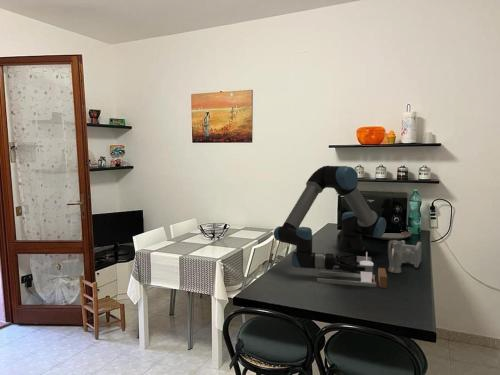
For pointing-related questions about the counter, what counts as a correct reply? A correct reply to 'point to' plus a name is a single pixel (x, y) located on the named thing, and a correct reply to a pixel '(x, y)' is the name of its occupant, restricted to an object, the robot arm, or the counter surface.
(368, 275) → the beverage cup
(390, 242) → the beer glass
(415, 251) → the cable organizer
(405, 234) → the dinner plate
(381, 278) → the channel
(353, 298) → the counter surface
